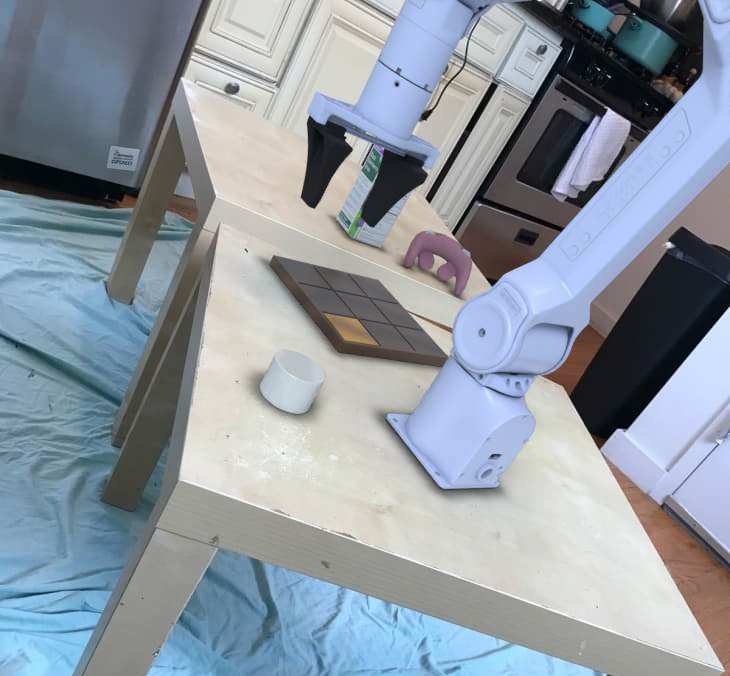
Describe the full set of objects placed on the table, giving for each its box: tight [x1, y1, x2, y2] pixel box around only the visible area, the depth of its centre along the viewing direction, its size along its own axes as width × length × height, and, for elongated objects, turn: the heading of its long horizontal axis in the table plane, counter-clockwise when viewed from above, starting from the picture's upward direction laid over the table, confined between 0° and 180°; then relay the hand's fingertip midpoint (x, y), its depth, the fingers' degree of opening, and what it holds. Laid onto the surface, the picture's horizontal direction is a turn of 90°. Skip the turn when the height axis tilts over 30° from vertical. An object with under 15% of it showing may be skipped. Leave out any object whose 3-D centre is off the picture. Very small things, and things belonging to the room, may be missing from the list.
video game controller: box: [403, 229, 473, 296], centre depth 107 cm, size 10×5×7 cm, turn 84°
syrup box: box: [336, 138, 426, 249], centre depth 103 cm, size 6×6×14 cm
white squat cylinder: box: [259, 348, 326, 415], centre depth 61 cm, size 4×4×3 cm
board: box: [269, 254, 449, 368], centre depth 83 cm, size 16×16×1 cm
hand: (338, 213), depth 74 cm, fingers open, 7 cm apart
